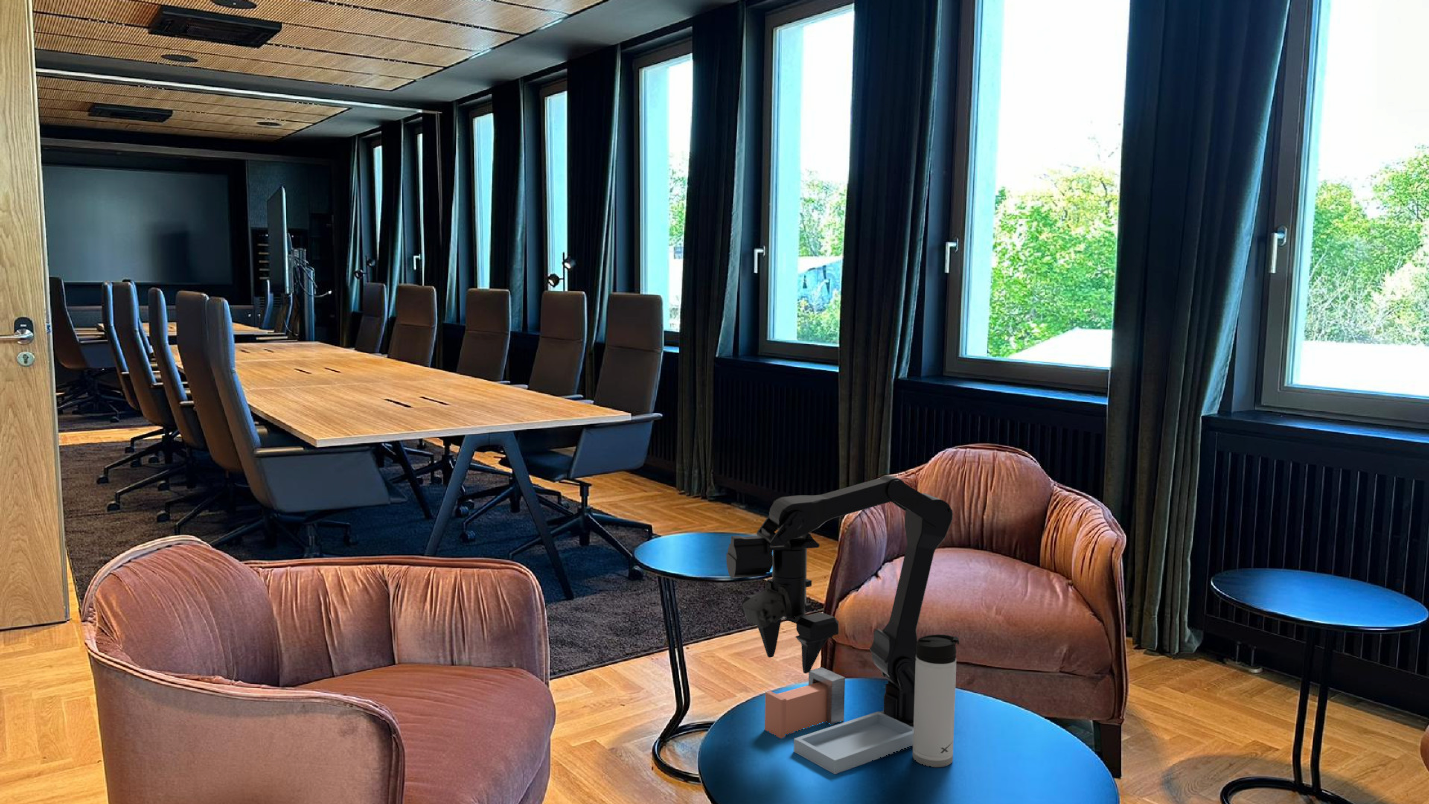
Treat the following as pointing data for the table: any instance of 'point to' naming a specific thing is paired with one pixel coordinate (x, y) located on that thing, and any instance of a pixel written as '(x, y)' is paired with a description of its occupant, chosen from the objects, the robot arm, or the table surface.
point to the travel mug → (934, 700)
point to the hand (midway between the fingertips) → (788, 664)
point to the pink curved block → (795, 709)
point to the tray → (854, 742)
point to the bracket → (831, 692)
